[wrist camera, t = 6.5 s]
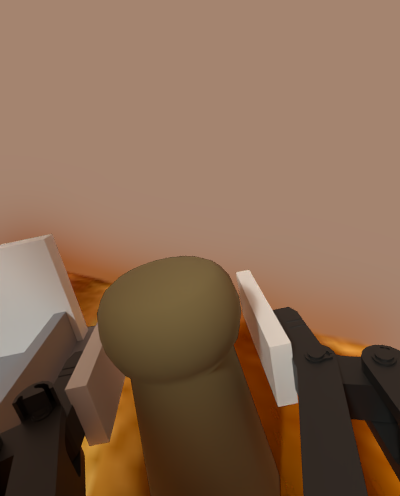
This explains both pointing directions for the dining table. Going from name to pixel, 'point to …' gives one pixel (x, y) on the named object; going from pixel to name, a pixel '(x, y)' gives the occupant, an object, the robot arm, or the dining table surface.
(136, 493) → the dining table surface
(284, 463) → the dining table surface
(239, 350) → the dining table surface
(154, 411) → the cork
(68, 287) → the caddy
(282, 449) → the dining table surface
